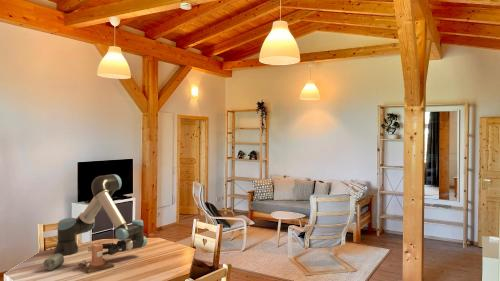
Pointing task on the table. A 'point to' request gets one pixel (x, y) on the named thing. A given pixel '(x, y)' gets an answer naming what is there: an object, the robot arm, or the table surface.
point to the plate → (94, 269)
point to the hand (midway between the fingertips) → (92, 252)
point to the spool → (53, 261)
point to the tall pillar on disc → (96, 260)
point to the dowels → (85, 264)
